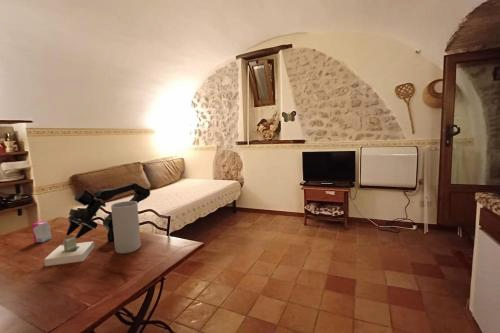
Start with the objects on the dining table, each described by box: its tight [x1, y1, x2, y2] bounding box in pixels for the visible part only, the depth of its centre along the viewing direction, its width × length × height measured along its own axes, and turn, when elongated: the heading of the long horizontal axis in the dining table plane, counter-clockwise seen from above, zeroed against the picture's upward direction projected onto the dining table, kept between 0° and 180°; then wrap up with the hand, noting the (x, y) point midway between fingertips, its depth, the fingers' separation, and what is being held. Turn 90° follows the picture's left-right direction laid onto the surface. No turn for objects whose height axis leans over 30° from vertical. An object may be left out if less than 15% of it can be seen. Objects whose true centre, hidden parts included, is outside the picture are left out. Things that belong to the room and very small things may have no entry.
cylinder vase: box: [110, 200, 142, 255], centre depth 135 cm, size 12×12×25 cm
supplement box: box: [32, 220, 52, 244], centre depth 150 cm, size 6×6×12 cm
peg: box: [62, 236, 77, 253], centre depth 129 cm, size 4×4×10 cm
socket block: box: [44, 241, 95, 267], centre depth 130 cm, size 16×16×4 cm
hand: (71, 236), depth 130 cm, fingers open, 9 cm apart
